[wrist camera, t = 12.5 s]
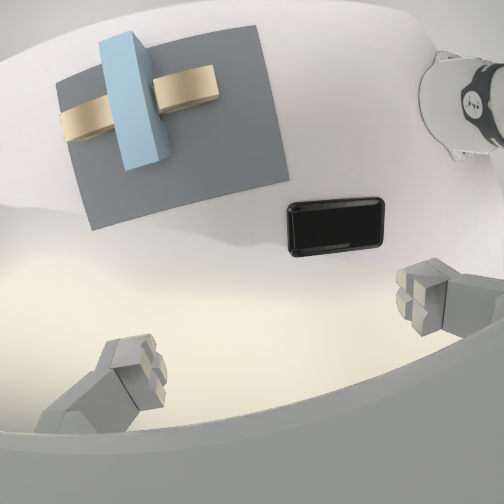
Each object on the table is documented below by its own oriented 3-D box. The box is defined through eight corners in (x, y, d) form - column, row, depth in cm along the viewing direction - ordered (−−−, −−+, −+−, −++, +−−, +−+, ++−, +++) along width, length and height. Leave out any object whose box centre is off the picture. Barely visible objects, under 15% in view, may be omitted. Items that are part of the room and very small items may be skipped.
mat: (255, 26, 35) (255, 25, 34) (288, 180, 43) (289, 180, 42) (56, 83, 34) (55, 83, 33) (93, 230, 42) (92, 231, 41)
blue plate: (150, 55, 34) (131, 30, 24) (172, 154, 39) (159, 160, 29) (125, 63, 34) (98, 42, 24) (146, 161, 39) (125, 170, 29)
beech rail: (212, 76, 36) (212, 64, 30) (217, 101, 38) (219, 94, 31) (81, 116, 36) (59, 113, 29) (86, 140, 37) (65, 141, 30)
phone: (287, 204, 43) (385, 197, 44) (285, 202, 44) (381, 196, 46) (289, 259, 46) (382, 247, 47) (287, 256, 47) (379, 245, 48)
